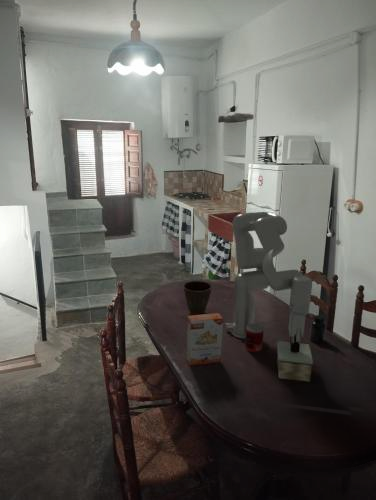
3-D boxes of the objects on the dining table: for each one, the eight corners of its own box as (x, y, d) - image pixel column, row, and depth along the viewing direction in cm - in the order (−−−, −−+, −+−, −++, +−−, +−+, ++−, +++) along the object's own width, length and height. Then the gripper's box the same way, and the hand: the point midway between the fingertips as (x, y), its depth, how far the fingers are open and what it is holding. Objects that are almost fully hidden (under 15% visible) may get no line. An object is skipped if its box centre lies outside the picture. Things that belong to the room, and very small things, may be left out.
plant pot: (211, 319, 204) (212, 291, 200) (183, 318, 205) (183, 290, 200) (210, 307, 219) (210, 281, 215) (183, 307, 219) (184, 280, 215)
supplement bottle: (325, 344, 181) (328, 321, 178) (310, 342, 182) (312, 319, 179) (323, 337, 188) (326, 314, 184) (308, 335, 189) (311, 313, 186)
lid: (278, 360, 151) (280, 341, 148) (276, 343, 163) (278, 326, 161) (312, 364, 149) (315, 345, 146) (308, 346, 161) (310, 329, 159)
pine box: (278, 380, 153) (280, 362, 151) (276, 363, 164) (278, 347, 162) (309, 383, 151) (311, 365, 149) (305, 366, 163) (307, 349, 160)
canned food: (263, 346, 178) (264, 325, 175) (260, 355, 171) (262, 333, 168) (246, 343, 180) (248, 322, 177) (243, 352, 173) (244, 330, 170)
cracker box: (189, 366, 161) (190, 321, 155) (186, 359, 167) (187, 315, 161) (221, 362, 164) (223, 318, 159) (217, 355, 170) (218, 312, 164)
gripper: (287, 298, 158) (283, 337, 164) (291, 315, 143) (286, 358, 148) (306, 299, 157) (301, 339, 162) (311, 317, 142) (306, 361, 147)
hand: (294, 348), depth 155 cm, fingers closed on lid, 3 cm apart
